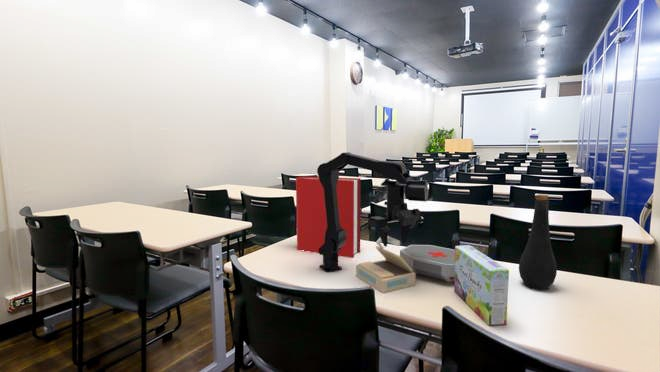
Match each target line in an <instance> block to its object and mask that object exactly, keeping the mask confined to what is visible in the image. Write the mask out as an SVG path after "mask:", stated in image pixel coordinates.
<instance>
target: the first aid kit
mask: <svg viewBox="0 0 660 372" xmlns="http://www.w3.org/2000/svg"><path fill="white" fill-rule="evenodd" d="M399 256H400V257H402V258H403V259H404V260H405V261H406V263H407V264H408V265H409V266H410V267H411V269H413V273H415V275H421V276H425V277H429V278H432V279H433V278H434V279H436V280H440V281H444V282H446V283H452V282H454V281H455V249H452V248H449V247H448V248H447V247H443V246H438V245H433V244H409V245H407V246H406V247H404V248H402V249H400V250H399Z"/></svg>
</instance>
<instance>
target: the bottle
mask: <svg viewBox="0 0 660 372" xmlns="http://www.w3.org/2000/svg"><path fill="white" fill-rule="evenodd" d="M548 198H549V195H548V194H541V193H540V194H536V199H535V200H534V201H535V203H534V212H533V218H532V224H531V228H530V232H529V236H528V239H527V243H526V245H525V248H524V250H523V252H522V253H521V257H520V260H519V264H518V273H519V276H520V279H521V281H523V285H524V286H525V287H526V288H529V289H532V290H535V291H548V290H550V287H551V286H552V285H553V284H554V282H555V280H556V276H557V275H558V274H557V271H558V270H557V268H558V267H557V262H556V258H555V254H554V252H553V247H552V242H551V235H550V217H549V213H550V210H549V207H550V205H549V204H550V200H549V199H548Z"/></svg>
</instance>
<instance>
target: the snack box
mask: <svg viewBox="0 0 660 372" xmlns="http://www.w3.org/2000/svg"><path fill="white" fill-rule="evenodd" d="M454 250H455V281H453V282H454V285H453V287H454V289H453V290H454V292H455V293H456V294H457V295H458V296H459V297H460V299H462V301H463V302H465V304H466V305H468V307H469V308H470V309H471V310H472V311H473V312H474V313H475V314H476V315H477V316H478V317H479V318H480V319H481V320H482V321H483V322H484V323H485V324H486V325H487V326H489V327H490V326H503V325H504V326H506V325H507V323H508V321H507V319H508V318H507V317H508V316H507V315H508V301H509V300H508V299H509V298H508V297H509V296H508V295H509V281H510V279H509V275H510V274H509V273H510V270H509V269H508V268H507V267H505V266H503V265H502V264H500V263H499V262H497V261H496V260H494V259H492V258H491V257H489V256H488V255H486V254H484V253H483V252H481V251H480V250H478V249H477V248H475V247H474V246H472V245H467V244H466V245H455V247H454Z"/></svg>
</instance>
